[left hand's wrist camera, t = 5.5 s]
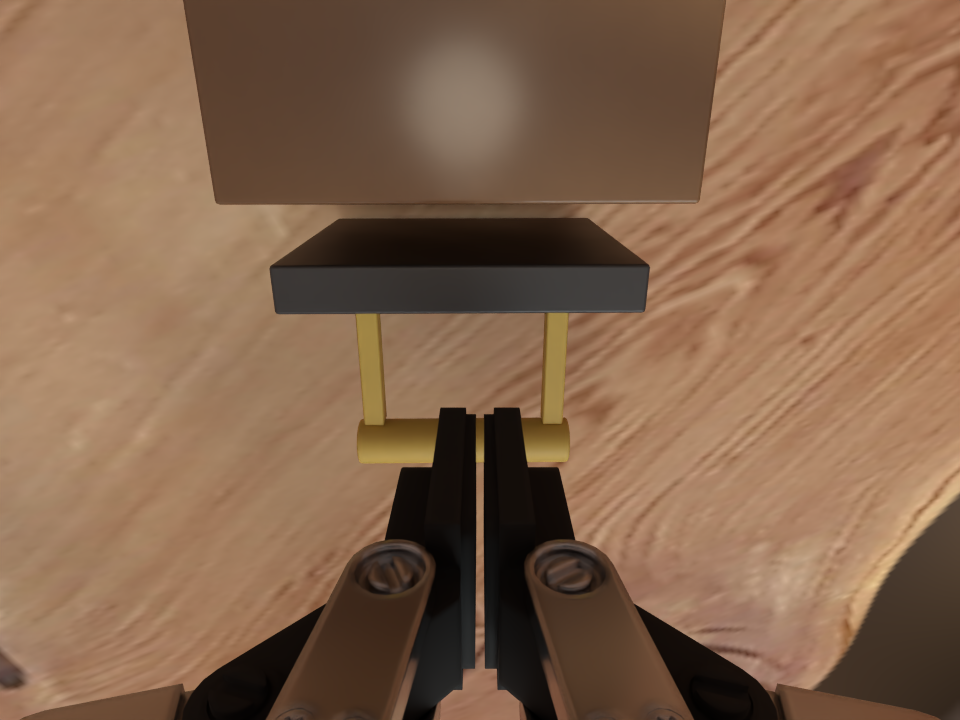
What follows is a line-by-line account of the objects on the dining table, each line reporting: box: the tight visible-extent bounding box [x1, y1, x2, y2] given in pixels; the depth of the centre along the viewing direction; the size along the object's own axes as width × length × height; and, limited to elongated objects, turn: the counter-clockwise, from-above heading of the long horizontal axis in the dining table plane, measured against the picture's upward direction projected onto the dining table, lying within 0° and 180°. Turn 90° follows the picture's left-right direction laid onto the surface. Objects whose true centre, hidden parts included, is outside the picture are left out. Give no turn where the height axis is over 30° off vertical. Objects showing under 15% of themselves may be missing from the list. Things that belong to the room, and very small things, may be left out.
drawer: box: [270, 218, 650, 463], centre depth 16 cm, size 24×9×8 cm, turn 0°
